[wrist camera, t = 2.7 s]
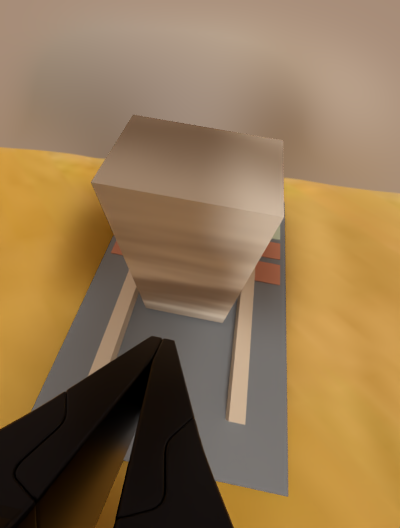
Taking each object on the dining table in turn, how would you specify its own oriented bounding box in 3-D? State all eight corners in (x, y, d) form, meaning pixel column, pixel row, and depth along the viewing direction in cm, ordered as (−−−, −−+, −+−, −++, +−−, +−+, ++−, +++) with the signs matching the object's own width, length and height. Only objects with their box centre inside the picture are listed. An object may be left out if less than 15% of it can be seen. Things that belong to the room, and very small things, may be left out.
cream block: (222, 323, 17) (283, 217, 7) (145, 307, 17) (91, 182, 7) (228, 277, 19) (283, 140, 9) (159, 264, 19) (132, 114, 9)
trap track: (286, 494, 13) (311, 519, 10) (22, 436, 14) (-16, 447, 11) (283, 204, 25) (295, 182, 22) (141, 178, 25) (136, 154, 23)
